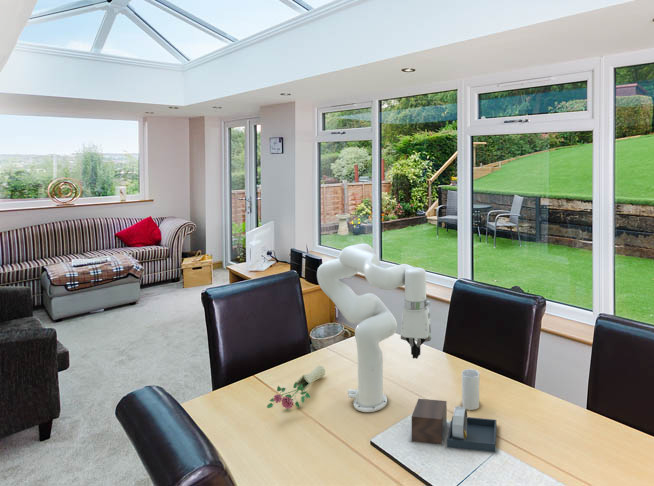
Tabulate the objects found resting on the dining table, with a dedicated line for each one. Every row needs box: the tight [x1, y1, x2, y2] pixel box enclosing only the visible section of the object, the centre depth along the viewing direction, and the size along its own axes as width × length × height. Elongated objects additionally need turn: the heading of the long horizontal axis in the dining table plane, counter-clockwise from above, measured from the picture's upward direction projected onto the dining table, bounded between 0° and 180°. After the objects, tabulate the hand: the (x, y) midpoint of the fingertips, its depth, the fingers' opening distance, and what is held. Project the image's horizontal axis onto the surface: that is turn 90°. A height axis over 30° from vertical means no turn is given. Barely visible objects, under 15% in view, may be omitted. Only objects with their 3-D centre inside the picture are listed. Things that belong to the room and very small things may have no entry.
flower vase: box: [266, 365, 326, 411], centre depth 164 cm, size 12×12×35 cm
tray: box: [446, 415, 498, 453], centre depth 141 cm, size 15×13×2 cm
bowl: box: [452, 405, 468, 440], centre depth 140 cm, size 9×9×4 cm
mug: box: [461, 368, 480, 411], centre depth 161 cm, size 10×7×12 cm, turn 159°
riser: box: [411, 398, 448, 445], centre depth 143 cm, size 10×11×8 cm
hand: (415, 356), depth 149 cm, fingers closed
